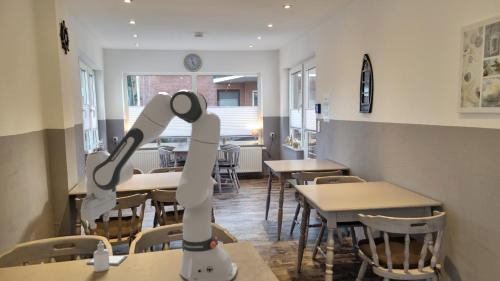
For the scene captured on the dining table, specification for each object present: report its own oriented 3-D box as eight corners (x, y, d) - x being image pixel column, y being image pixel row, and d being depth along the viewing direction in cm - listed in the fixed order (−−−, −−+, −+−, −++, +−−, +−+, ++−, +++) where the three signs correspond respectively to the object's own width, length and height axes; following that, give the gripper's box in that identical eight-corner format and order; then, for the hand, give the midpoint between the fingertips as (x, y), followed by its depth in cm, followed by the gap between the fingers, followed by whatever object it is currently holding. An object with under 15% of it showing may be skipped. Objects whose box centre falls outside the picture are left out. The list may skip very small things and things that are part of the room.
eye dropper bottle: (106, 272, 136) (104, 243, 135) (92, 272, 136) (90, 243, 135) (111, 267, 140) (109, 239, 139) (98, 267, 141) (96, 239, 140)
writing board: (127, 257, 150) (127, 256, 150) (118, 265, 142) (118, 264, 142) (97, 256, 152) (97, 255, 151) (86, 264, 144) (86, 263, 144)
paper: (124, 256, 149) (124, 256, 149) (117, 263, 143) (117, 262, 143) (98, 255, 151) (97, 255, 151) (89, 262, 144) (89, 261, 144)
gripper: (91, 197, 126) (92, 234, 127) (118, 185, 147) (119, 217, 148) (75, 197, 127) (77, 233, 128) (104, 185, 147) (105, 216, 148)
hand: (100, 224), depth 138 cm, fingers open, 8 cm apart
